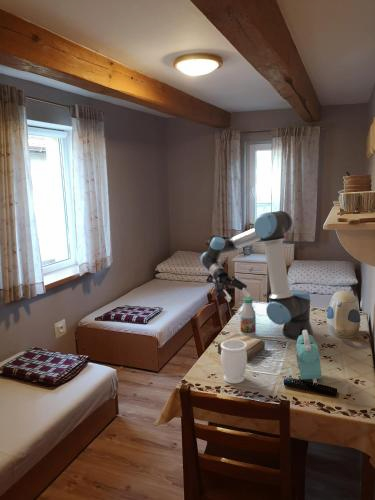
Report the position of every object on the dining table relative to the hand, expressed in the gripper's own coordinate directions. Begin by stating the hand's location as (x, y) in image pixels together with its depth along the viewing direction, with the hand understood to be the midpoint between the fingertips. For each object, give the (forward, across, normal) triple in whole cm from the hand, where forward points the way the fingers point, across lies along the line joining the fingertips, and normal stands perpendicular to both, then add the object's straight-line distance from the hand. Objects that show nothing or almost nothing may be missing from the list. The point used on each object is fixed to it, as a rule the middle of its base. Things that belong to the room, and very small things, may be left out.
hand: (240, 298), depth 202 cm
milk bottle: (+13, -4, -15) cm, 20 cm away
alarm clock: (+55, +7, +7) cm, 55 cm away
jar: (+40, +31, -4) cm, 51 cm away
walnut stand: (+24, +12, -10) cm, 28 cm away
